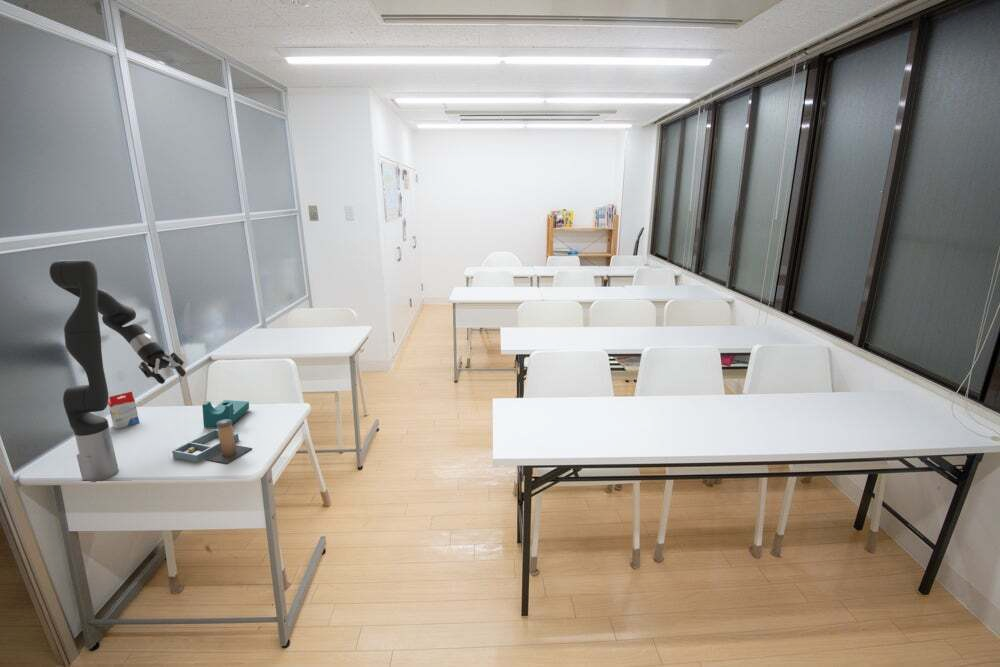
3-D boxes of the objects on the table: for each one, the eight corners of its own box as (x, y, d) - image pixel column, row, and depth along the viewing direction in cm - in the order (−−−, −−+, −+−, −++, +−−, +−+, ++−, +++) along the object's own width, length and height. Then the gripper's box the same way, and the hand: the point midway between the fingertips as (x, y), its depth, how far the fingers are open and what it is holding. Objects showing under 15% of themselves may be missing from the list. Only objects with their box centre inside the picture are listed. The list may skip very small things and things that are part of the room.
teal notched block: (229, 429, 208) (228, 406, 206) (203, 427, 208) (202, 404, 205) (249, 411, 226) (248, 390, 223) (225, 410, 225) (224, 389, 223)
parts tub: (197, 462, 180) (196, 455, 179) (173, 457, 183) (171, 450, 183) (239, 440, 197) (237, 433, 197) (215, 435, 201) (214, 429, 200)
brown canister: (228, 457, 183) (223, 425, 179) (218, 455, 184) (213, 423, 181) (239, 451, 187) (234, 420, 184) (229, 449, 189) (224, 418, 185)
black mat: (226, 464, 179) (226, 463, 179) (205, 460, 182) (205, 458, 182) (252, 449, 190) (252, 448, 190) (231, 445, 193) (231, 444, 193)
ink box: (136, 419, 216) (130, 388, 212) (139, 422, 213) (133, 391, 209) (112, 426, 210) (105, 394, 206) (115, 429, 207) (108, 397, 203)
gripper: (132, 346, 182) (160, 379, 181) (167, 337, 195) (194, 367, 194) (124, 359, 185) (152, 390, 184) (160, 348, 198) (186, 378, 197)
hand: (174, 378), depth 189 cm, fingers open, 8 cm apart
